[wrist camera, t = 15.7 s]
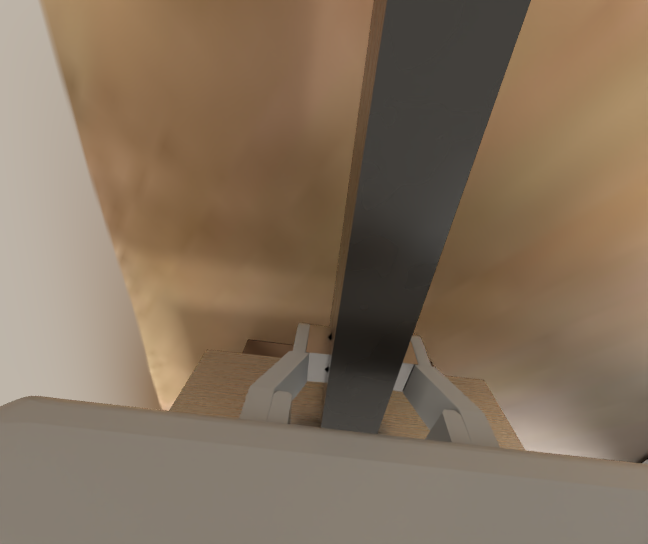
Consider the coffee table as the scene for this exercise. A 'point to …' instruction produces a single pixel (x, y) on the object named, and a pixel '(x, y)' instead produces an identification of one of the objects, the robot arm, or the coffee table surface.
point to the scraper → (393, 217)
